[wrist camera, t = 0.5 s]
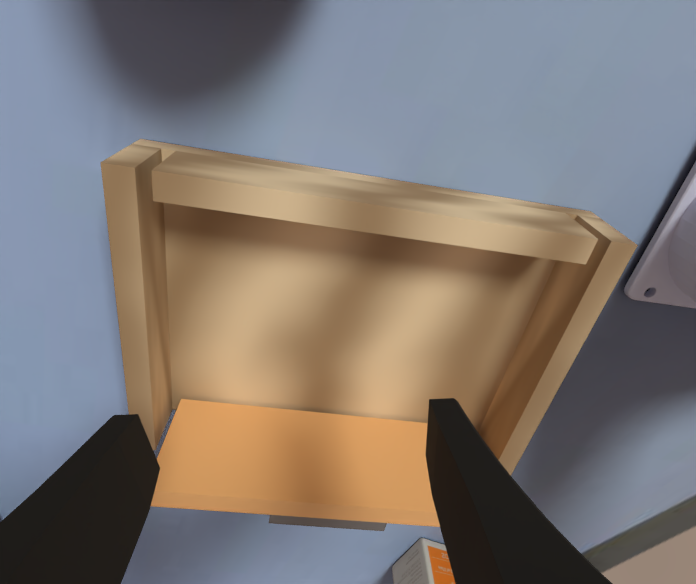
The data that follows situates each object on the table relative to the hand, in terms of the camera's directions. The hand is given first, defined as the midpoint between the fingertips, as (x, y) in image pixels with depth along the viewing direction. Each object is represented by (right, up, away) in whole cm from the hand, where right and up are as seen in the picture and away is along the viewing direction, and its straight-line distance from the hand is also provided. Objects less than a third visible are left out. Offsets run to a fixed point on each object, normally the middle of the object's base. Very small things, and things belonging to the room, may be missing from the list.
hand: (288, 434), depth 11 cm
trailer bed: (+2, +3, +9) cm, 10 cm away
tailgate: (+1, -3, +12) cm, 12 cm away
